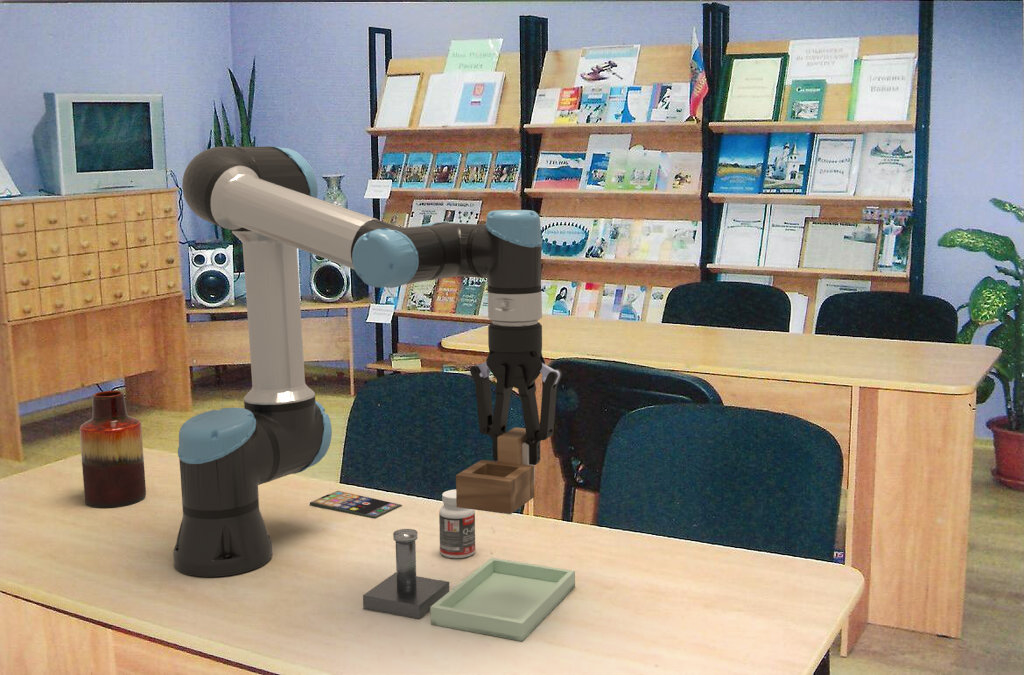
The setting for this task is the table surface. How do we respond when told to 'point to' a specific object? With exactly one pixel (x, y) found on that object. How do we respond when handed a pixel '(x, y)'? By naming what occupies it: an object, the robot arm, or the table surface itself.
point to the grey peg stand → (405, 584)
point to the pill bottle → (456, 528)
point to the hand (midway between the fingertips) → (516, 484)
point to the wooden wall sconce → (498, 478)
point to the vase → (112, 454)
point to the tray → (503, 599)
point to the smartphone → (354, 504)
